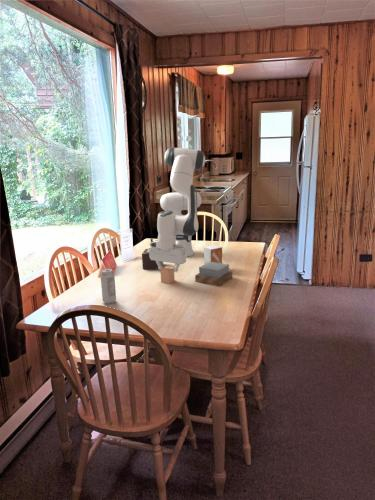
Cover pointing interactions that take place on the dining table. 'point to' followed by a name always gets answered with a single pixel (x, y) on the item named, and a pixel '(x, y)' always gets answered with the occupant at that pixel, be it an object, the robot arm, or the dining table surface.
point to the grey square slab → (214, 269)
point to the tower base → (213, 279)
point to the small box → (212, 254)
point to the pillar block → (167, 274)
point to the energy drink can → (108, 286)
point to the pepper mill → (149, 260)
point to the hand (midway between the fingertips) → (168, 270)
